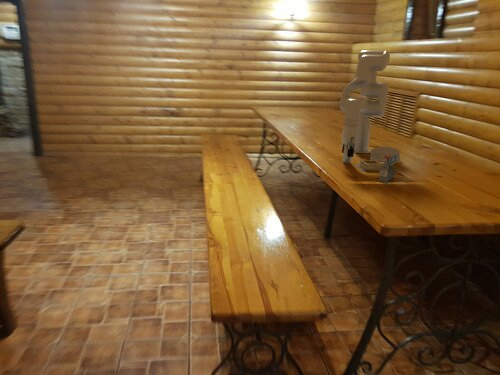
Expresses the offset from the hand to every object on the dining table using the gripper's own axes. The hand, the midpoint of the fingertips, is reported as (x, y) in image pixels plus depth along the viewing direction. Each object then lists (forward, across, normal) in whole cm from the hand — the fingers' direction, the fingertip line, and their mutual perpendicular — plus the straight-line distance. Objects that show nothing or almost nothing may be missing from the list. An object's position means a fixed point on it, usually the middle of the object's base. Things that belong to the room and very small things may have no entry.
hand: (347, 154), depth 205 cm
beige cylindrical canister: (+6, 0, 0) cm, 6 cm away
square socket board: (+5, +10, +13) cm, 18 cm away
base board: (+6, +10, +12) cm, 17 cm away
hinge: (+6, -8, +24) cm, 26 cm away
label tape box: (+6, +28, +11) cm, 30 cm away
